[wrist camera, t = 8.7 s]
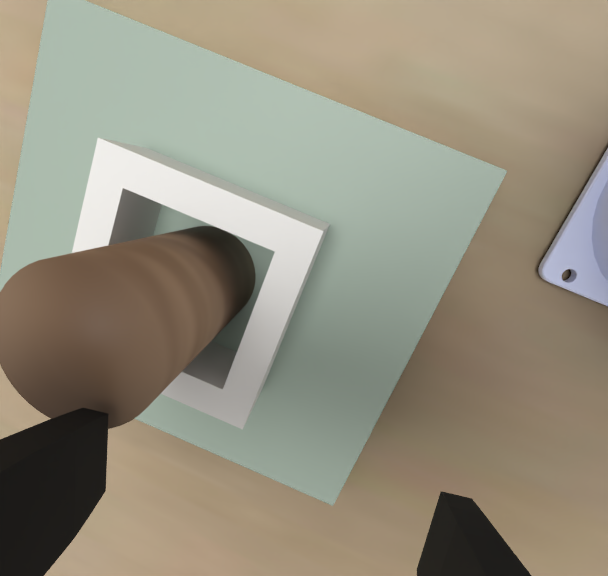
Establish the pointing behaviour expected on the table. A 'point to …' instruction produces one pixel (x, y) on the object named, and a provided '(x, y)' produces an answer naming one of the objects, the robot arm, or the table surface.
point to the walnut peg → (119, 319)
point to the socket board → (249, 229)
